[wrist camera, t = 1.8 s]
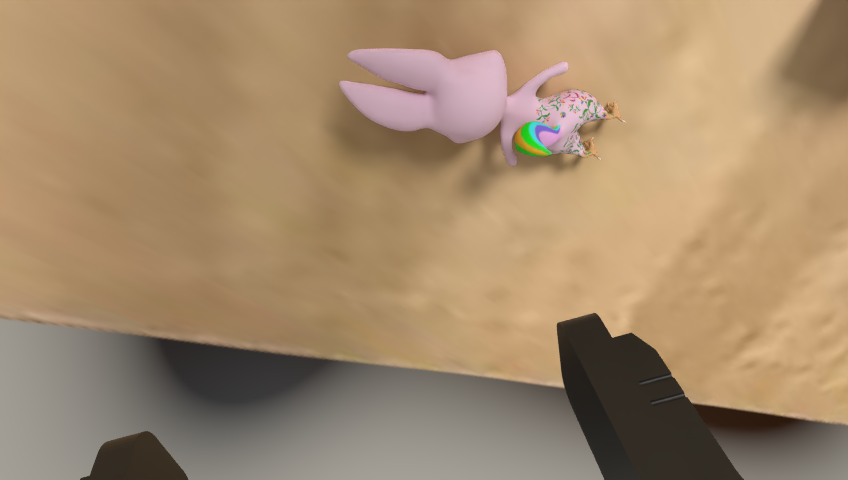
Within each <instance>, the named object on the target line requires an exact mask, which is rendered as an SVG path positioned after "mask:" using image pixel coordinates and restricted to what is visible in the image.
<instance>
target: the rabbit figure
mask: <svg viewBox="0 0 848 480" xmlns="http://www.w3.org/2000/svg"><path fill="white" fill-rule="evenodd" d="M347 57H348V59H350V60H351V61H353V62H355V63H357V64H358V65H360V66H362V67H363V68H365V69H367V70H368V71H370V72H371V73H373V74H375V75H376V76H378V77H380V78H383V79H385V80H388V81H391V82H394V83H398V84H401V85H404V86H407V87H410V88H413V89H417V90H423V91H426V92H425V93H421V94H420V93H414V92H409V91H405V90H400V89H395V88H389V87H383V86H377V85H372V84H365V83H356V82H350V81H345V80H342V81H340V83H339V86H340V88H341V90H342V92H343V93H344V94H345V96H346V97H347V98H348V100H349V101H350V102H351V103H352V104H353V105H354V106H355V107H356V108H357V109H358V110H359V111H360V112H361V113H362V114H363V115H364V116H366V117H367V118H369V119H370V120H372V121H373V122H375V123H377V124H380V125H382V126H385V127H387V128H390V129H394V130H398V131H415V130H419V129H422V128H430V129H432V130H434V131H436V132H438V133H440V134H442V135H445V136H447V137H448V138H449V139H450V140H452V141H453V142H455V143H465V142H469V141H472V140H476V139H479V138H481V137H484V136H485V135H487V134H489V133H490V132H491V131H492V130H493V129H494V128H495V127H496V126H497V125H498V124H499V122H500V123H501V127H500V138H501V147H502V151H503V154H504V156H505V158H506V161H507V163H508V164H509V165H510V166H514V165H516V163H517V157H516V155H515V154H514V152H513V151H512V138H513V135H514V133H515V132H516V131H517V132H516V134H515V146H516V149H517V150H518V151H520V152H522V153H524V154H527V155H531V156H548V155H552V153H553V154H558V153H565V154H575V155H578V156H580V157H582V158H586V157H588V156H590V155H594V156H595V157H597V158H598V159H600V157H598V156H597V151H596V149H595V147H594V143H593V142H592V140H593V138H594V137H592V138H591V141H590V142H589V143H586V141H585V142H584V144H585V146H586V149H585V148H584V147H583V145H582V142H581V139H580V136H579V133H578V131H577V130H578V129H579V128H580V127H581V126H582V125H583V124H584V123H587V122H591V121H595V120H599V119H606V120H609V119H611V118H618V119H619V120H620V121H621V122H624V123H626V122H625V121H624V120H622V119H621V115H620V113H619V111H618V106H617V105H616V104H615V102H617V101H614V102H613V104H614V105H613V106H609V105H610V103H608V104H607V106H608V107H609V108H608V110H609V112H606V110H605V109H604V108H603V107H602V106H601V105H600V103H599V102H598V101H597V100H596V99H595V98H594V97H593V96H592V95H591V94H589V93H587V92H585V91H582V90H567V91H564V92H561V93H558V94H555V95H552V96H549V97H547V98H538V97H536V91H537V89H538V88H539V87H540V86H541V85H542V84H543V83H544V82H546V81H547V80H548V79H550V78H552V77H554V76H557V75H560V74H563V73H565V72H566V71H567V70H568V63H567V62H560V63H557V64H555V65H553V66H551V67H549V68H548V69H546V70H544V71H542V72H541V73H539V74H537V75H536V76H535V77H533V78H532V79H530V80H529V81H528V82H526V83H525V84H524V85H523V86H522V87H521V88H520V89H518V90H517V91H516V92H515V93H513V94H512V95H509V96H507V73H506V67H505V64H504V61H503V58H502V56H501V54H500V53H499V52H498V51H495V50H490V51H485V52H481V53H476V54H471V55H467V56H463V57H460V58H456V59H452V60H451V59H447V58H445V57H444V56H443V55H441V54H440V53H438V52H435V51H431V50H424V49H401V48H378V49H358V50H354V51H351V52H349V53H348V55H347ZM600 160H602V159H600Z"/></svg>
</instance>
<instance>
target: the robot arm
mask: <svg viewBox="0 0 848 480" xmlns="http://www.w3.org/2000/svg"><path fill="white" fill-rule="evenodd" d="M557 335H558V344H559V353H560V363H561V372H562V378H563V383H564V386H565V390H566V393H567V396H568V399H569V401H570V404H571V406H572V409H573V411H574V413H575V415H576V417H577V420H578V422H579V424H580V426H581V429H582V431H583V433H584V435H585V437H586V439H587V442H588V444H589V446H590V448H591V451H592V453H593V455H594V457H595V459H596V462H597V464H598V466H599V468H600V471H601V473H602V475H603V477H604V480H744V479H743V478H742V477H741V476H740V475H739V473H738V472H737V471H736V469H735V468H734V466H733V465H732V463H731V462H730V460H729V459H728V458H727V456H726V454H725V453H724V451H723V450H722V449H721V447H720V445H719V444H718V442H717V441H716V439H715V438H714V436H713V435H712V433H711V432H710V430H709V429H708V427H707V426H706V424H705V423H704V421H703V420H702V419H701V417H700V415H699V414H698V413H697V411H696V410H695V408H694V407H693V405H692V403H691V402H690V400H689V399H688V397H685V395H684V391H683V390H682V388H681V387H680V385H679V384H678V382H677V381H676V379H675V378H673V377H672V375H671V372H670V370H669V369H668V367H667V366H666V365H665V363H664V362H663V360H662V359H661V357H660V356H659V354H658V353H657V351H656V350H655V349H654V348H652V347H651V346H650V345H648V344H647V343H645V342H644V341H643V340H641V339H640V338H638V337H637V336H635V335H634V334H633V333H629V334H625V335H621V336H618V337H614V338H612V337H611V335H610V333H609V332H608V330H607V328H606V327H605V325H604V323H603V322H602V320H601V319H600V317H599V316H598V315H597V314H596V313H593V314H589V315H585V316H581V317H578V318H574V319H570V320H566V321H563V322H559V323H557ZM80 480H188V478H187V476H186V474H185V473H184V471H183V470H182V469H181V468H180V466H179V465H178V464H177V463H176V462H175V460H174V459H173V458H172V457H171V455H170V454H169V453H168V452H167V451H166V449H165V448H164V447H163V446H162V445H161V443H160V442H159V441H158V439H157V438H156V437H155V436H154V435H153V434H152V433H150V432H148V431H145V432H141V433H138V434H134V435H130V436H126V437H123V438H119V439H115V440H111V441H108V442H106V443H104V444H103V445H102V446H101V448H100V450H99V452H98V454H97V457H96V460H95V463H94V465H93V468H92V471H91V474H90V476H87V477H83V478H81V479H80Z"/></svg>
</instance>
